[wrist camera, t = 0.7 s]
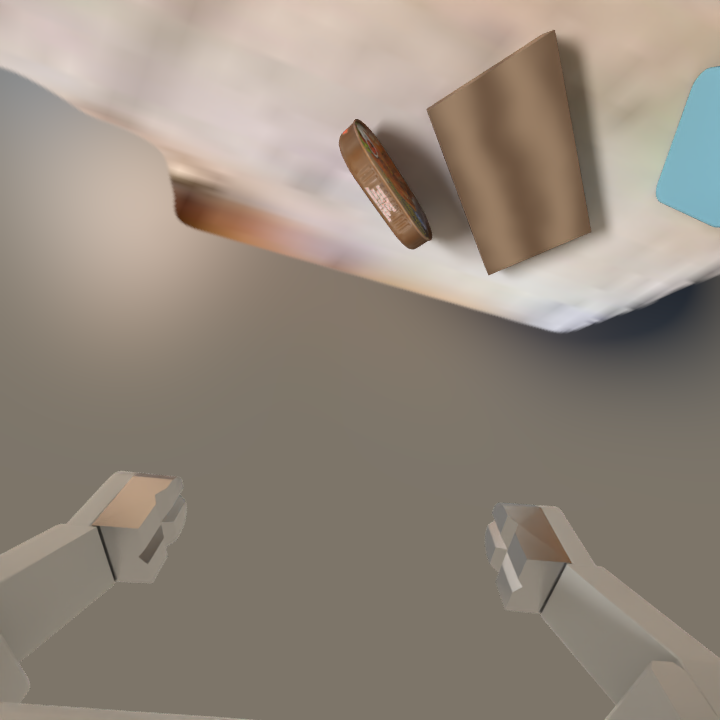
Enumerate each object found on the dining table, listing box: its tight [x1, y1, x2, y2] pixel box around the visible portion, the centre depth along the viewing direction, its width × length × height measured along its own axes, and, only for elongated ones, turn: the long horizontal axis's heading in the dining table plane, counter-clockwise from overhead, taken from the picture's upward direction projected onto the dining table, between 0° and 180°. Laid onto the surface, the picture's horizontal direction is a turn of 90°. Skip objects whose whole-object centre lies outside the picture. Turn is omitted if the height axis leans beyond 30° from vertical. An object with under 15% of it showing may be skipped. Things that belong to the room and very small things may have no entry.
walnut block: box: [427, 30, 591, 275], centre depth 40 cm, size 12×20×4 cm, turn 29°
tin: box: [339, 119, 432, 249], centre depth 40 cm, size 15×3×8 cm, turn 38°
